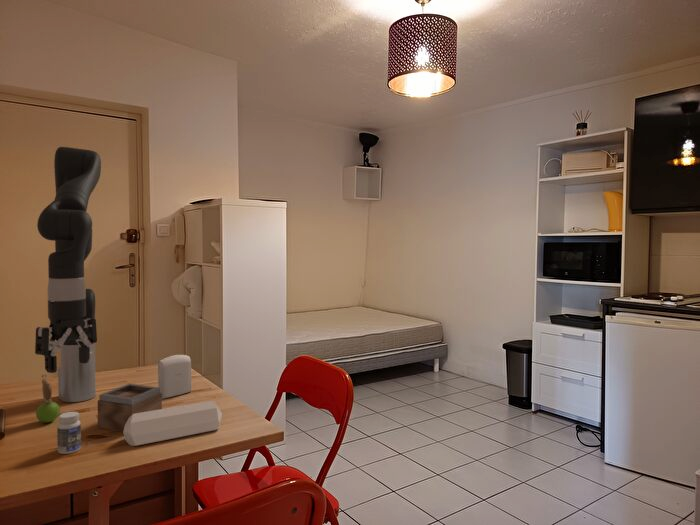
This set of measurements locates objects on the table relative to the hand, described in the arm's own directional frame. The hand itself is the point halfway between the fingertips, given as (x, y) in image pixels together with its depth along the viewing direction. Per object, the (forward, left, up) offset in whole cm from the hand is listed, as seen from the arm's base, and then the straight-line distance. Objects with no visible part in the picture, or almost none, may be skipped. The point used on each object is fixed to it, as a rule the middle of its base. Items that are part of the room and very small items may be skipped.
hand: (68, 367), depth 112 cm
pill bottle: (0, 0, -20) cm, 20 cm away
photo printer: (-3, +41, -20) cm, 46 cm away
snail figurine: (-20, +11, -20) cm, 30 cm away
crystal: (+17, +16, -20) cm, 31 cm away
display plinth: (+1, +18, -19) cm, 26 cm away
